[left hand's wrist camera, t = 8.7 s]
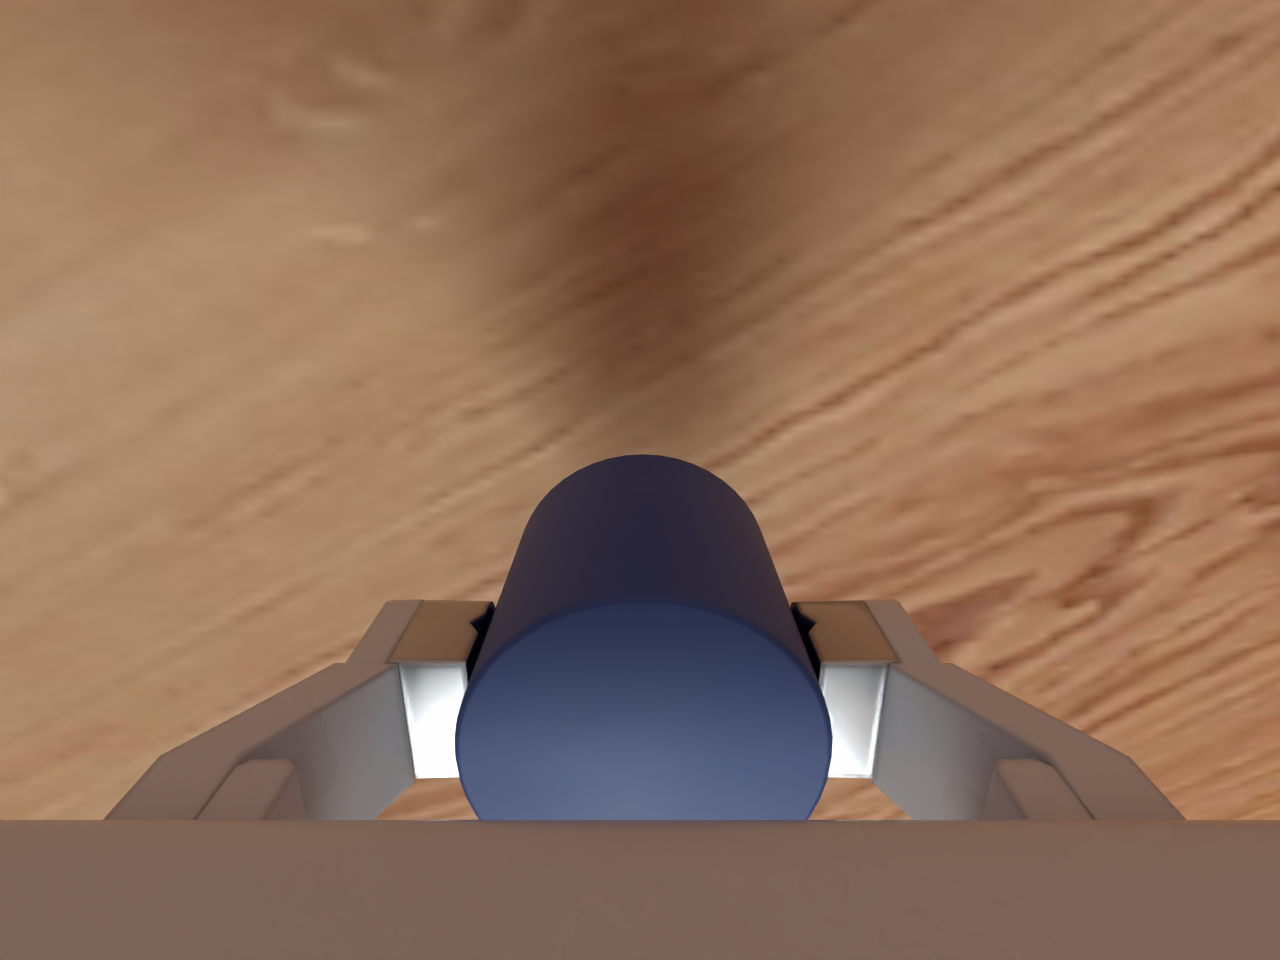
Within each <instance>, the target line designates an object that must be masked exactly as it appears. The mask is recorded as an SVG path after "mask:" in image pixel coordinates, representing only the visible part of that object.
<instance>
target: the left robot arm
mask: <svg viewBox="0 0 1280 960" xmlns="http://www.w3.org/2000/svg"><path fill="white" fill-rule="evenodd" d="M495 609H496V608H495V606H494V603H493V601H447V600H426V601H424V600H391V601H388V602H386V603H385V604H384V606H383V607H382V609H381V610H380V612H379V613H378V615H377V616H376V618H375V619H374V621H373V622H372V624H371V625H370V627H369V628H368V630H367V631H366V633H365V634H364V636H363V637H362V639H361V640H360V642H359V643H358V645H357V646H356V648H355V649H354V651H353V652H352V654H351V655H350V657H349V658H348V660H347V661H346V663H334V664H333V665H331V666H329V667H327V668H325V669H323V670H321V671H319V672H317V673H316V674H314V675H312V676H310V677H308V678H306V679H304V680H302V681H300V682H299V683H297V684H295V685H293V686H291V687H289V688H287V689H285V690H284V691H282V692H280V693H278V694H276V695H274V696H272V697H270V698H268V699H267V700H265V701H263V702H261V703H259V704H257V705H255V706H253V707H251V708H250V709H248V710H246V711H244V712H242V713H240V714H238V715H236V716H235V717H233V718H231V719H229V720H227V721H225V722H223V723H221V724H219V725H218V726H216V727H214V728H212V729H210V730H208V731H206V732H204V733H202V734H201V735H199V736H197V737H195V738H193V739H191V740H189V741H187V742H186V743H184V744H182V745H180V746H178V747H176V748H174V749H172V750H170V751H169V752H167V753H165V754H163V755H161V756H160V757H159V758H158V759H157V760H156V761H155V762H154V763H153V764H152V766H151V767H150V768H149V769H148V770H147V771H146V772H145V773H144V775H143V776H142V777H141V778H140V779H139V780H138V781H137V782H136V783H135V785H134V786H133V787H132V788H131V789H130V790H129V791H128V792H127V794H126V795H125V796H124V797H123V798H122V799H121V800H120V801H119V803H118V804H117V805H116V806H115V807H114V808H113V809H112V810H111V812H110V813H109V814H108V815H107V816H106V817H105V818H104V819H103V820H0V960H1280V820H1186V819H1185V818H1184V817H1183V816H1182V814H1181V813H1180V812H1179V811H1178V810H1177V809H1176V808H1175V807H1174V806H1173V804H1172V803H1171V802H1170V801H1169V800H1168V799H1167V798H1166V797H1165V796H1164V794H1163V793H1162V792H1161V791H1160V790H1159V789H1158V788H1157V787H1156V786H1155V785H1154V783H1153V782H1152V781H1151V780H1150V779H1149V778H1148V777H1147V776H1146V775H1145V773H1144V772H1143V771H1142V770H1141V769H1140V768H1139V767H1138V766H1137V765H1136V763H1135V762H1134V761H1133V760H1132V759H1131V758H1130V757H1129V756H1127V755H1125V754H1123V753H1121V752H1119V751H1117V750H1115V749H1113V748H1112V747H1110V746H1108V745H1106V744H1104V743H1102V742H1100V741H1098V740H1096V739H1095V738H1093V737H1091V736H1089V735H1087V734H1085V733H1083V732H1081V731H1079V730H1077V729H1076V728H1074V727H1072V726H1070V725H1068V724H1066V723H1064V722H1062V721H1060V720H1059V719H1057V718H1055V717H1053V716H1051V715H1049V714H1047V713H1045V712H1043V711H1041V710H1040V709H1038V708H1036V707H1034V706H1032V705H1030V704H1028V703H1026V702H1024V701H1022V700H1021V699H1019V698H1017V697H1015V696H1013V695H1011V694H1009V693H1007V692H1005V691H1004V690H1002V689H1000V688H998V687H996V686H994V685H992V684H990V683H988V682H986V681H985V680H983V679H981V678H979V677H977V676H975V675H973V674H971V673H969V672H968V671H966V670H964V669H962V668H960V667H958V666H956V665H954V664H952V663H941V662H940V661H939V659H938V658H937V656H936V655H935V653H934V652H933V650H932V649H931V647H930V646H929V645H928V643H927V642H926V640H925V639H924V637H923V636H922V634H921V633H920V631H919V630H918V629H917V627H916V626H915V624H914V623H913V621H912V620H911V618H910V617H909V615H908V614H907V613H906V611H905V610H904V608H903V607H902V605H901V604H900V602H898V601H896V600H894V599H888V600H864V601H863V600H858V601H818V602H793V603H791V607H790V609H791V611H792V614H793V617H794V619H795V622H796V625H797V627H798V630H799V632H800V635H801V638H802V640H803V643H804V646H805V648H806V651H807V654H808V656H809V659H810V661H811V664H812V667H813V669H814V672H815V675H816V677H817V680H818V682H819V685H820V688H821V690H822V693H823V696H824V698H825V702H826V705H827V708H828V712H829V715H830V720H831V728H832V736H833V742H832V759H831V764H830V768H829V773H828V777H845V778H872V782H873V783H874V784H875V785H876V786H877V787H878V788H879V789H881V790H882V791H883V792H884V793H885V794H886V795H887V796H888V797H889V798H890V799H891V800H892V801H893V802H894V803H895V804H896V805H898V806H899V807H900V808H901V809H902V810H903V811H904V812H905V813H906V814H907V815H908V816H909V817H910V818H911V819H912V820H375V819H376V818H377V817H378V816H379V815H380V814H381V813H382V812H383V811H384V810H385V809H386V808H387V807H388V806H389V805H390V804H391V803H392V802H394V801H395V800H396V799H397V798H398V797H399V796H400V795H401V794H402V793H403V792H404V791H405V790H406V789H407V788H408V787H409V786H410V785H411V784H413V783H414V778H441V777H459V774H458V769H457V764H456V759H455V741H454V736H455V728H456V721H457V716H458V712H459V709H460V706H461V702H462V699H463V696H464V693H465V691H466V688H467V685H468V682H469V680H470V677H471V674H472V672H473V669H474V666H475V663H476V661H477V658H478V655H479V652H480V650H481V647H482V644H483V642H484V639H485V636H486V633H487V631H488V628H489V625H490V623H491V620H492V617H493V614H494V612H495Z"/></svg>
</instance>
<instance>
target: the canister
mask: <svg viewBox="0 0 1280 960" xmlns="http://www.w3.org/2000/svg"><path fill="white" fill-rule="evenodd" d="M454 741H455V759H456V764H457V769H458V774H459V778H460V782H461V784H462V787H463V789H464V792H465V795H466V797H467V799H468V801H469V803H470V805H471V807H472V808H473V810H474V812H475V814H476V815H477V817H478V818H479V819H480V820H807V819H808V818H809V817H810V815H811V813H812V812H813V810H814V808H815V806H816V805H817V803H818V801H819V799H820V797H821V795H822V792H823V789H824V787H825V784H826V781H827V778H828V773H829V768H830V764H831V759H832V742H833V736H832V728H831V720H830V715H829V712H828V708H827V705H826V702H825V698H824V696H823V693H822V690H821V688H820V685H819V682H818V680H817V677H816V675H815V672H814V669H813V667H812V664H811V661H810V659H809V656H808V654H807V651H806V648H805V646H804V643H803V640H802V638H801V635H800V632H799V630H798V627H797V625H796V622H795V619H794V617H793V614H792V611H791V609H790V606H789V604H788V601H787V598H786V596H785V593H784V590H783V588H782V585H781V583H780V580H779V577H778V575H777V572H776V569H775V567H774V564H773V561H772V559H771V556H770V554H769V551H768V548H767V546H766V543H765V540H764V538H763V535H762V533H761V530H760V528H759V526H758V523H757V521H756V519H755V517H754V515H753V514H752V512H751V511H750V509H749V508H748V506H747V505H746V503H745V502H744V501H743V500H742V498H741V497H740V496H739V495H738V494H737V493H736V492H735V491H734V490H733V489H732V488H731V487H730V486H729V485H727V484H726V483H725V482H724V481H723V480H721V479H720V478H718V477H717V476H715V475H714V474H712V473H710V472H709V471H707V470H705V469H703V468H701V467H698V466H696V465H694V464H692V463H688V462H685V461H682V460H679V459H675V458H670V457H665V456H659V455H643V454H642V455H626V456H620V457H615V458H610V459H606V460H603V461H600V462H597V463H594V464H591V465H589V466H587V467H585V468H582V469H580V470H578V471H576V472H575V473H573V474H572V475H570V476H568V477H567V478H565V479H564V480H562V481H561V482H560V483H559V484H558V485H556V486H555V487H554V488H553V489H552V490H551V491H550V492H549V493H548V494H547V495H546V496H545V497H544V498H543V500H542V501H541V502H540V503H539V505H538V506H537V508H536V509H535V511H534V512H533V514H532V515H531V517H530V519H529V521H528V523H527V525H526V528H525V530H524V533H523V535H522V538H521V541H520V543H519V546H518V549H517V552H516V554H515V557H514V560H513V563H512V565H511V568H510V571H509V573H508V576H507V579H506V582H505V584H504V587H503V590H502V593H501V595H500V598H499V601H498V603H497V606H496V609H495V612H494V614H493V617H492V620H491V623H490V625H489V628H488V631H487V633H486V636H485V639H484V642H483V644H482V647H481V650H480V652H479V655H478V658H477V661H476V663H475V666H474V669H473V672H472V674H471V677H470V680H469V682H468V685H467V688H466V691H465V693H464V696H463V699H462V702H461V706H460V709H459V712H458V716H457V721H456V728H455V736H454Z"/></svg>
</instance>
